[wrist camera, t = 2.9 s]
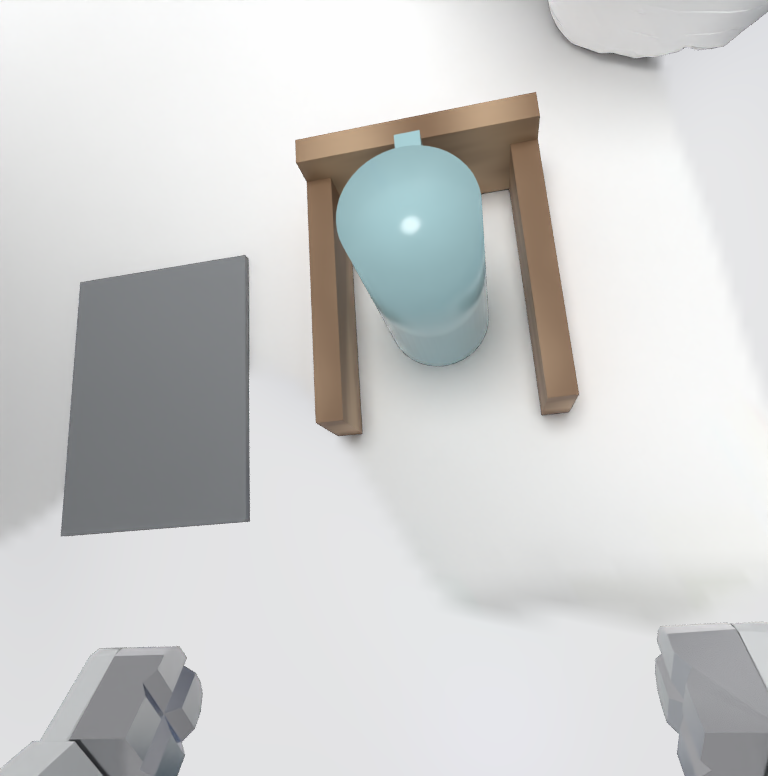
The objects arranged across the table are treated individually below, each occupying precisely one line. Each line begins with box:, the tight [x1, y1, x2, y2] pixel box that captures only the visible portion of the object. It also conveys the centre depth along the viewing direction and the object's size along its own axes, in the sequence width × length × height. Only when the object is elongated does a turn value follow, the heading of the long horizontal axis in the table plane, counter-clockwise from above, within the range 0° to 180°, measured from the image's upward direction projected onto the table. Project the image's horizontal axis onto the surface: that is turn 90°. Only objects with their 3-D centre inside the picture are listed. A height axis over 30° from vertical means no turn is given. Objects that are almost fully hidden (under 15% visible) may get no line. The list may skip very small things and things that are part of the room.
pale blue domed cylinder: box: [336, 130, 489, 366], centre depth 24 cm, size 5×7×10 cm
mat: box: [61, 255, 250, 536], centre depth 30 cm, size 10×14×1 cm
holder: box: [295, 92, 579, 436], centre depth 26 cm, size 11×13×5 cm
